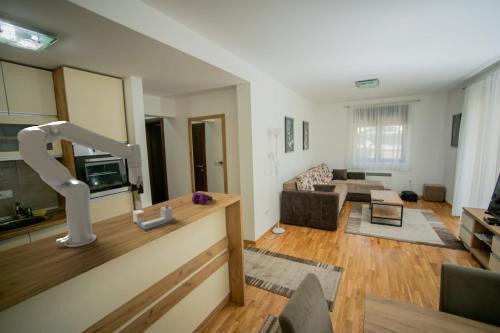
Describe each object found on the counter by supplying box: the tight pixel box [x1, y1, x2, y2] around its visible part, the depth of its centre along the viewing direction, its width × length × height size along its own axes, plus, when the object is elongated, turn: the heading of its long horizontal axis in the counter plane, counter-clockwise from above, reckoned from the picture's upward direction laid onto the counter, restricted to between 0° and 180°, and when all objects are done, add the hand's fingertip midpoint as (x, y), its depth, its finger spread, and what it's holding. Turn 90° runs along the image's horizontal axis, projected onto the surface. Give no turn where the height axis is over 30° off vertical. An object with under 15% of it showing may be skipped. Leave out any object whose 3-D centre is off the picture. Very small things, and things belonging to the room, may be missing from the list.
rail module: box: [132, 209, 146, 225], centre depth 136 cm, size 4×6×7 cm
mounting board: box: [136, 205, 177, 232], centre depth 134 cm, size 20×10×10 cm, turn 138°
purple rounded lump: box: [191, 191, 213, 206], centre depth 182 cm, size 9×8×18 cm
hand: (137, 192), depth 134 cm, fingers open, 9 cm apart
